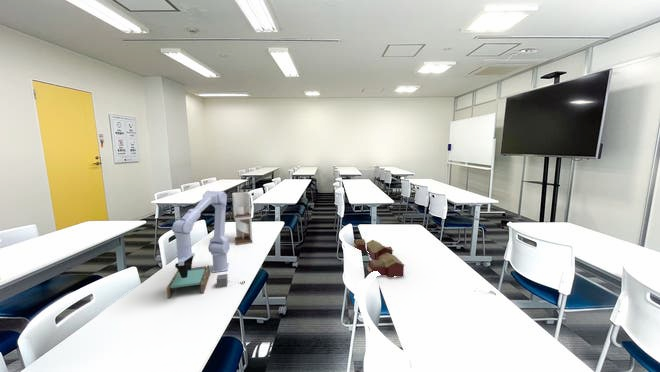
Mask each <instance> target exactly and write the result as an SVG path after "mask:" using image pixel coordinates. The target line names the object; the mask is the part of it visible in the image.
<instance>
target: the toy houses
mask: <svg viewBox="0 0 660 372" xmlns="http://www.w3.org/2000/svg"><path fill="white" fill-rule="evenodd" d="M351 245H352V246H353V248H354V247H355V248H357V249H359V250H361V252H362V251H366V252H367V251H368V252H369V253H368V254H369V255H370V256H369V255H368V254H367V255H368V256H369V258H370V259H371V260H368V266H367V267H366V269H367V271H368V273H369V274H370V273H371V272H373V271H378V272H379V273H380V274H381V275H387V276H388V277H394V276H403V277H404V275H405V274H404V270H405V268H404V267H406V264H404V263H403V262H402V261H401V260H400V259H399V258H398V257H397V256H396V255H394V254H393V252H394V249H393V248H392V246H385V245H383V244H382V243H381V242H379V241H377V240H374V239H372V240H369V241H368V242H366V240H365V238H360V239H354V240H353V242H352V244H351ZM355 248H354V249H355ZM387 276H386V277H387ZM388 277H387V278H388Z"/></svg>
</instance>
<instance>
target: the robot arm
mask: <svg viewBox="0 0 660 372" xmlns="http://www.w3.org/2000/svg"><path fill="white" fill-rule="evenodd" d="M204 192H205V193H203V194H202V199H200V200H199V202H198V203H197V205H196V206H195V207H194V208H190V209H188V210H187V212H186V213H185V214H184V215H183V216H181V218H180V219H178V220H176V221H174V222H173V224H172V227H171V231H172V232H173V233H174V234H173V235H174V237H175V242H176V243H175V244H176V250H177V252H176V253H177V256H176V258H177V262H176V263H175V264H174V267H175V268H176V269H177V270H178V271H179V273H180V275H181V278H187V275H188V270H191V268H193V267H192V266H193V265H192V264H193V260H194V257H195V255H196V254H195V253H193V252H192V241H191V240H192V239H191V232H192V230H193V228H194V226H195V223H196V222H197V220H199V219H200V218H201V215H202V214H201V213H202V212H203V211H204V210H205V209H206V208H208V207H209V206H210V205H211V206H212V207H214V225H213V226H214V229H213V237H211V238H210V239H209V243H208V245H207V246H208V249H207V250H208V252H209V253H210V255H211V256H212V271H211V273H218V272H219V273H220V272H227V271H228V269H229V265H230V262H228V257H227V256H228V255H227V254H228V252H229V251H230V246H231V245H230V242H229V239H228V238H227V237H226V235H225V232H226V229H225V228H226V213H227V212H226V211H227V210H226V209H227V207H226V206H227V201H228V200H227V199H228V195H227V194H226V192H225V191H222V190H221V191H220V190H219V191H218V190H206V191H204Z"/></svg>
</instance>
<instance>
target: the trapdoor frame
mask: <svg viewBox="0 0 660 372" xmlns="http://www.w3.org/2000/svg"><path fill="white" fill-rule="evenodd" d="M178 272H179V271H178V269H177V271H176V272H175V274H174V276H173V277H172V279H171V280H170V282H169V284H168V285H167V287H166V294H167V295H166V296H167V299H169V300H170V299H171V298H172V296H173V294H174V292H175V291H176V289H177V288H171V287H170V286H171V284H172V283H173V281H174V279H175V278H176V276H177V274H178ZM210 276H211V268H210V265H209V264H208V265H206V271H205V273H204V275H203V278H202V280H201V283H200V291H201V292H200V294H205V291H206V288H207V285H208V282H209V278H210Z"/></svg>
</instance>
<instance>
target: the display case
mask: <svg viewBox="0 0 660 372" xmlns="http://www.w3.org/2000/svg"><path fill="white" fill-rule="evenodd" d="M231 196H232V210H233V211H232V213H233V218H234V221H235V235H236V237H234V242H235V244H236V246H240V245H247V244H253V234H252V233H253V230H252V229H253V228H252V208H251V206H252V205H251V204H252V203H251V194H250V192H248V191H243V192H242V191H241V192H232V195H231Z"/></svg>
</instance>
